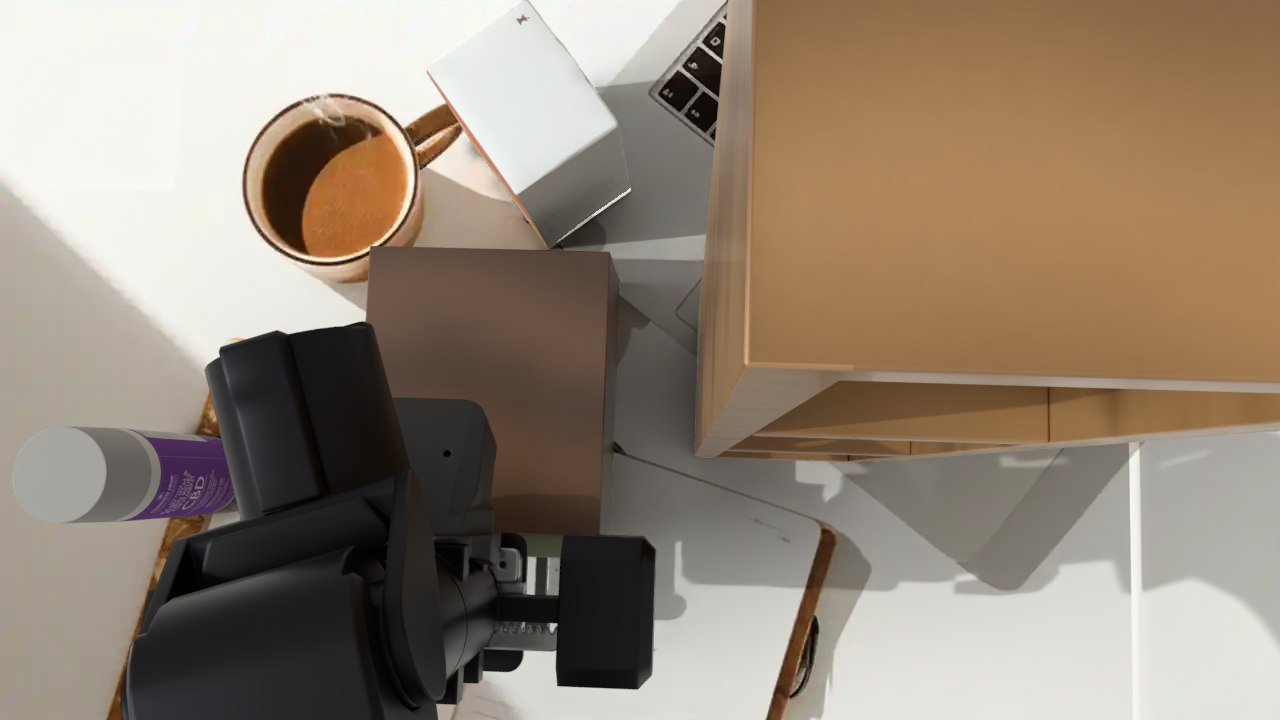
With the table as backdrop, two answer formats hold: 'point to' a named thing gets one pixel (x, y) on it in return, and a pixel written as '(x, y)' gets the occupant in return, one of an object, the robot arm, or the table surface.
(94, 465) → the container
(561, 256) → the brown box
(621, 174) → the small box
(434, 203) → the table surface
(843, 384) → the rack
